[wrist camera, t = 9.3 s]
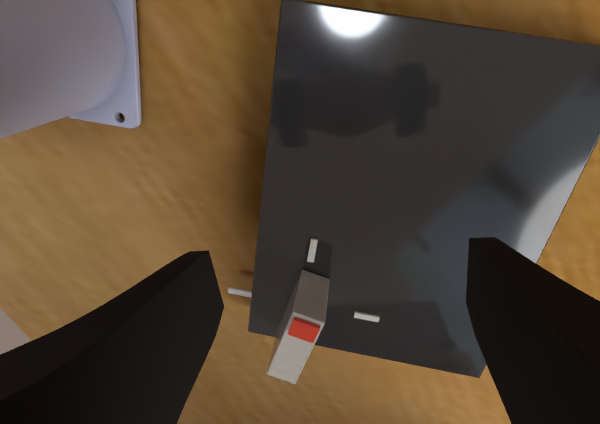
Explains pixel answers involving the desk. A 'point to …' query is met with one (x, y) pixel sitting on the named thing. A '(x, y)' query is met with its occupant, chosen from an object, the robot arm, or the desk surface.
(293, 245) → the stove
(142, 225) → the desk surface
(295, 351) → the red-tipped gray block
